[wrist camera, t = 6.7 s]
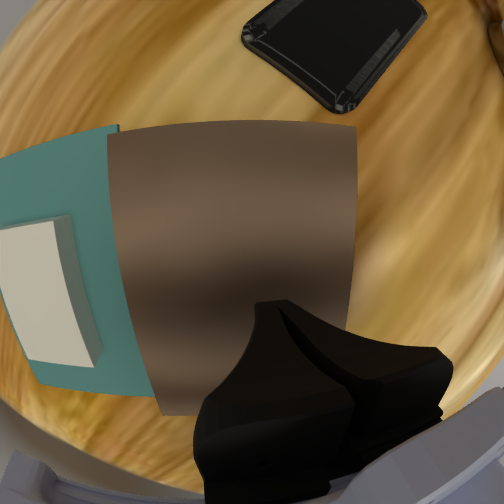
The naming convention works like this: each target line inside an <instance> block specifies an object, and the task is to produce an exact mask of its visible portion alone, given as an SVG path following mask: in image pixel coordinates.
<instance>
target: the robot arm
mask: <svg viewBox="0 0 504 504" xmlns="http://www.w3.org/2000/svg"><path fill="white" fill-rule="evenodd" d="M254 312H255V323H254V328H253V331H252V334H251V337H250V340H249V342H248V345H247V347H246V349H245V351H244V353H243V355H242V356H241V358H240V360H239V361H238V363H237V364H236V366H235V367H234V369H233V370H232V371H231V372H230V373H229V375H228V376H227V377H226V378H225V379H224V381H223V382H222V383H221V384H220V385H219V386H218V387H217V388H215V389H214V390H213V391H212V392H211V393H210V394H209V395H208V396H207V397H205V398H204V401H203V403H202V406H201V409H200V411H199V414H198V418H197V421H196V425H195V430H194V436H193V454H194V460H195V462H196V465H197V467H198V469H199V471H200V474H201V476H202V478H203V480H204V495H205V499H178V498H163V497H152V496H143V495H136V494H130V493H123V492H118V491H113V490H108V489H103V488H99V487H95V486H91V485H87V484H83V483H80V482H76V481H73V480H70V479H67V478H64V477H61V476H58V475H56V473H55V472H54V471H53V470H52V469H51V468H50V467H49V466H48V465H46V464H45V463H44V462H42V461H40V460H38V459H36V458H34V457H31V456H29V455H26V454H24V453H22V452H20V451H17V450H14V451H13V453H12V456H11V458H10V460H9V463H8V465H7V467H6V470H5V472H4V475H3V477H2V480H1V483H0V504H504V467H503V466H502V465H501V463H500V462H499V461H498V460H499V459H500V458H501V457H502V456H503V455H504V387H503V388H502V389H501V388H500V387H495V388H493V389H491V390H489V391H487V392H485V393H484V394H482V395H481V396H480V397H478V398H477V399H475V400H474V401H473V402H471V403H470V404H468V405H467V406H465V407H464V408H462V409H461V410H459V411H458V412H456V413H455V414H453V415H451V416H450V417H448V418H446V419H445V420H442V419H441V418H440V417H441V416H442V415H443V411H442V409H441V408H440V407H439V406H438V405H439V403H440V401H441V399H442V397H443V395H444V394H445V392H446V390H447V388H448V386H449V384H450V381H451V379H452V375H453V364H452V362H451V361H450V360H449V359H448V358H447V357H446V356H445V355H444V354H443V353H442V352H441V351H440V350H439V349H437V348H436V347H417V346H404V345H397V344H390V343H385V342H380V341H376V340H372V339H368V338H364V337H361V336H358V335H355V334H352V333H350V332H347V331H344V330H342V329H340V328H337V327H335V326H333V325H331V324H329V323H327V322H325V321H323V320H321V319H319V318H318V317H316V316H314V315H312V314H311V313H309V312H307V311H306V310H304V309H303V308H301V307H299V306H298V305H296V304H294V303H293V302H291V301H289V300H287V299H283V300H274V301H264V302H257V303H256V304H255V305H254Z"/></svg>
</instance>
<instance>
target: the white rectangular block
mask: <svg viewBox="0 0 504 504" xmlns="http://www.w3.org/2000/svg"><path fill="white" fill-rule="evenodd" d="M0 288H1V291H2V294H3V298H4V301H5V304H6V307H7V309H8V312H9V315H10V318H11V320H12V323H13V325H14V328H15V330H16V333H17V335H18V338H19V340H20V342H21V345H22V347H23V349H24V351H25V353H26V355H27V357H28V359H30V360H36V361H42V362H49V363H56V364H63V365H72V366H81V367H93V368H94V367H95V365H96V363H97V361H98V359H99V357H100V355H101V353H102V351H103V347H102V344H101V341H100V338H99V335H98V332H97V329H96V326H95V323H94V320H93V317H92V313H91V310H90V306H89V303H88V299H87V295H86V292H85V288H84V284H83V279H82V275H81V271H80V266H79V261H78V256H77V251H76V246H75V240H74V234H73V227H72V220H71V214H69V215H63V216H57V217H51V218H45V219H39V220H33V221H28V222H23V223H17V224H12V225H7V226H4V227H2V228H0Z"/></svg>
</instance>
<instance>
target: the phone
mask: <svg viewBox="0 0 504 504" xmlns="http://www.w3.org/2000/svg"><path fill="white" fill-rule="evenodd" d="M426 19H427V12H426V10H425V9H424V7H423V6H422V5H421V4H420V3H419V2H418V1H417V0H274V1H273V2H272V3H270V4H269V5H268V6H266V7H265V8H264V9H263V10H261V11H260V12H259V13H258V14H256V15H255V16H254V17H253V18H251V19H250V20H249V21H248V22H247V23H246V24H245V25H244V27H243V30H242V35H241V40H242V43H243V44H244V46H245V47H246V48H247V49H248V50H250V51H251V52H253V53H254V54H256V55H257V56H259V57H260V58H262V59H263V60H265V61H266V62H267V63H269V64H270V65H272V66H273V67H275V68H276V69H277V70H279V71H280V72H281V73H283V74H284V75H285V76H287V77H288V78H289V79H291V80H292V81H293V82H295V83H296V84H297V85H298V86H300V87H301V88H302V89H303V90H305V91H306V92H307V93H308V94H309V95H311V96H312V97H313V98H314V99H315V100H317V101H318V102H319V103H320V104H321V105H322V106H324V107H325V108H326V109H327V110H329V111H330V112H333V113H336V114H343V113H346V112H349V111H352V110H354V109H355V108H356V107H357V106H358V105H359V103H360V102H361V101H362V100H363V98H364V97H365V96H366V95H367V93H368V92H369V91H370V89H371V88H372V87H373V86H374V84H375V83H376V82H377V81H378V79H379V78H380V77H381V76H382V74H383V73H384V72H385V70H386V69H387V68H388V67H389V65H390V64H391V63H392V62H393V60H394V59H395V58H396V57H397V55H398V54H399V53H400V52H401V50H402V49H403V48H404V46H405V45H406V44H407V43H408V41H409V40H410V39H411V38H412V36H413V35H414V34H415V33H416V31H417V30H418V29H419V28H420V26H421V25H422V24H423V23H424V21H425V20H426Z"/></svg>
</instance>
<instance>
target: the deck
mask: <svg viewBox="0 0 504 504" xmlns="http://www.w3.org/2000/svg"><path fill="white" fill-rule="evenodd" d="M107 161H108V180H109V193H110V204H111V213H112V222H113V230H114V237H115V244H116V250H117V256H118V262H119V267H120V273H121V278H122V283H123V288H124V292H125V297H126V301H127V305H128V310H129V314H130V318H131V322H132V325H133V329H134V333H135V336H136V340H137V343H138V347H139V350H140V353H141V357H142V360H143V363H144V366H145V369H146V372H147V375H148V378H149V381H150V384H151V386H152V389H153V392H154V395H155V397H156V400H157V403H158V405H159V408H160V410H161V413H162V415H167V416H187V415H198V414H199V411H200V409H201V406H202V403H203V401H204V398H205V397H207V396H208V395H209V394H210V393H211V392H212V391H213V390H214V389H215V388H217V387H218V386H219V385H220V384H221V383H222V382H223V381H224V379H225V378H226V377H227V376H228V375H229V373H230V372H231V371H232V370H233V369H234V367H235V366H236V364H237V363H238V361H239V360H240V358H241V356H242V355H243V353H244V351H245V349H246V347H247V345H248V342H249V340H250V337H251V334H252V331H253V328H254V323H255V312H254V305H255V304H256V303H257V302H264V301H274V300H283V299H287V300H289V301H291V302H293V303H294V304H296V305H298V306H299V307H301V308H303V309H304V310H306V311H307V312H309V313H311V314H312V315H314V316H316V317H318V318H319V319H321V320H323V321H325V322H327V323H329V324H331V325H333V326H335V327H337V328H340V329H342V330H344V331H345V326H346V319H347V312H348V305H349V297H350V289H351V280H352V271H353V260H354V248H355V233H356V213H357V135H356V127H354V126H345V125H337V124H327V123H315V122H300V121H277V120H233V121H210V122H195V123H183V124H173V125H164V126H156V127H149V128H142V129H135V130H129V131H123V132H118V133H112V134H107Z"/></svg>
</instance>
